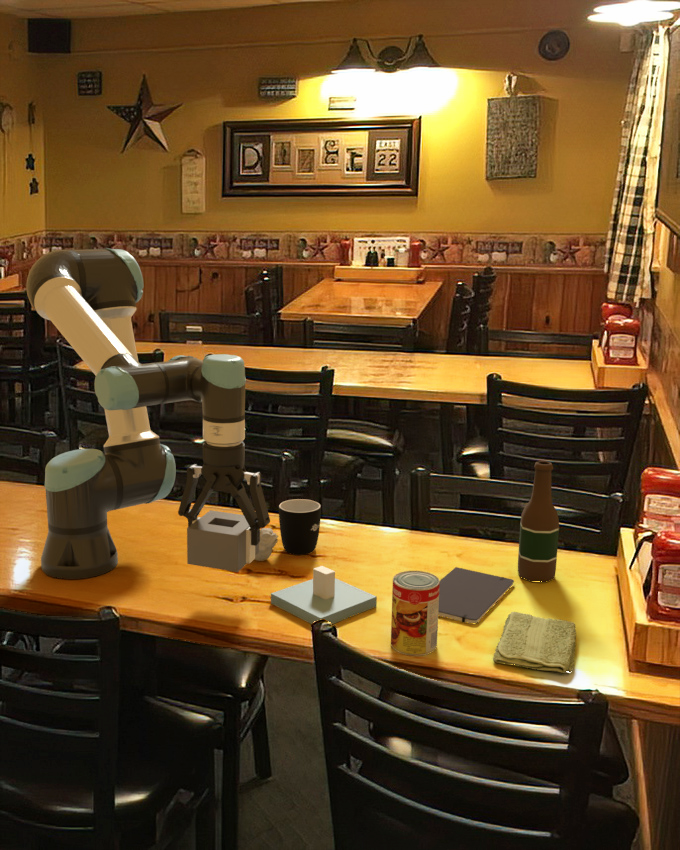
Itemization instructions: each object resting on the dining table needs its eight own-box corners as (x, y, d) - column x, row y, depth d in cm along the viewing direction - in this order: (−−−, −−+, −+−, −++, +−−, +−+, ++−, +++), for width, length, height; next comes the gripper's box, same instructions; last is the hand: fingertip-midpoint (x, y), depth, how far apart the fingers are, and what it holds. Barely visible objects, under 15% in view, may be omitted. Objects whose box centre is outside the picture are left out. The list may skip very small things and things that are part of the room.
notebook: (455, 573, 191) (411, 612, 173) (455, 566, 190) (411, 604, 172) (514, 587, 185) (475, 628, 167) (515, 579, 184) (476, 620, 166)
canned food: (396, 631, 164) (398, 568, 161) (440, 638, 162) (443, 573, 159) (385, 651, 156) (387, 585, 154) (431, 658, 154) (434, 591, 151)
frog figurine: (274, 566, 191) (274, 535, 190) (241, 564, 193) (241, 532, 191) (281, 556, 197) (281, 525, 196) (249, 553, 198) (249, 522, 197)
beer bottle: (559, 572, 191) (567, 460, 185) (550, 586, 184) (559, 470, 178) (521, 566, 194) (529, 455, 188) (512, 579, 187) (519, 464, 182)
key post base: (270, 603, 174) (270, 568, 173) (326, 583, 184) (326, 550, 182) (320, 628, 164) (321, 591, 163) (376, 606, 174) (377, 571, 172)
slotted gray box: (187, 563, 170) (187, 528, 168) (210, 544, 179) (210, 510, 177) (237, 572, 167) (238, 535, 165) (258, 551, 176) (259, 517, 174)
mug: (314, 559, 196) (314, 514, 193) (273, 555, 198) (273, 510, 195) (328, 540, 207) (328, 496, 205) (289, 536, 209) (289, 493, 207)
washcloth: (490, 668, 152) (491, 650, 152) (506, 623, 169) (507, 606, 168) (572, 681, 149) (573, 663, 148) (580, 634, 165) (581, 617, 164)
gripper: (157, 439, 167) (159, 554, 172) (275, 453, 160) (273, 573, 166) (176, 429, 174) (177, 540, 179) (289, 442, 167) (287, 557, 173)
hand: (223, 556), depth 173 cm, fingers closed on slotted gray box, 10 cm apart
